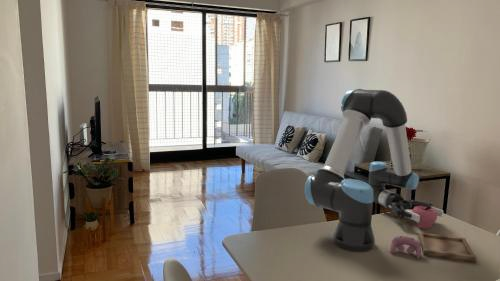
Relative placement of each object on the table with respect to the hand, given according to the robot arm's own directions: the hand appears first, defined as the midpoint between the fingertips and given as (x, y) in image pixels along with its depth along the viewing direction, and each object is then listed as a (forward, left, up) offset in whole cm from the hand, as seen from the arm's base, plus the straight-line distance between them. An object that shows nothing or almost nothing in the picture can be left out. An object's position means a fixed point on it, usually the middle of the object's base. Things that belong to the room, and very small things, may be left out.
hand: (431, 216), depth 154 cm
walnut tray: (+3, -17, -6) cm, 18 cm away
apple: (-2, +2, -6) cm, 7 cm away
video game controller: (-11, -25, -6) cm, 28 cm away
